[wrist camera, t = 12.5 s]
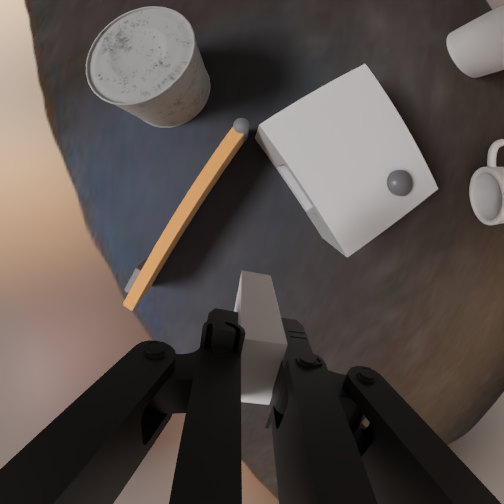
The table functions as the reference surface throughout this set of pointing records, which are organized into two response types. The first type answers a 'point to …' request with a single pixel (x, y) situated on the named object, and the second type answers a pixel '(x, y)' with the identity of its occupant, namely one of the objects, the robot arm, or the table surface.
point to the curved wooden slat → (185, 213)
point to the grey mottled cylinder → (150, 67)
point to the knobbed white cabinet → (348, 159)
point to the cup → (479, 44)
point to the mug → (488, 189)
